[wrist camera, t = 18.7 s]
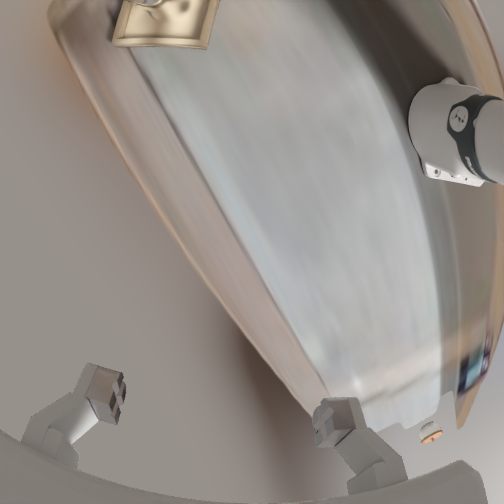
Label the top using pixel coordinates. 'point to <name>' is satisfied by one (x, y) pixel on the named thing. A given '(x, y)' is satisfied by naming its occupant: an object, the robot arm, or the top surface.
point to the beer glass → (165, 9)
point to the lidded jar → (430, 432)
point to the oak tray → (165, 27)
